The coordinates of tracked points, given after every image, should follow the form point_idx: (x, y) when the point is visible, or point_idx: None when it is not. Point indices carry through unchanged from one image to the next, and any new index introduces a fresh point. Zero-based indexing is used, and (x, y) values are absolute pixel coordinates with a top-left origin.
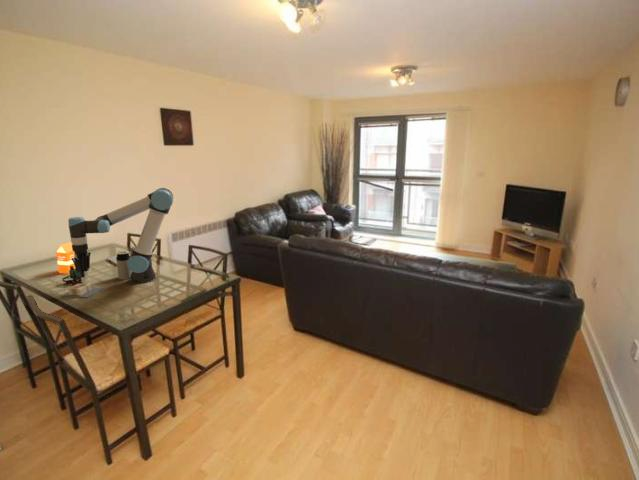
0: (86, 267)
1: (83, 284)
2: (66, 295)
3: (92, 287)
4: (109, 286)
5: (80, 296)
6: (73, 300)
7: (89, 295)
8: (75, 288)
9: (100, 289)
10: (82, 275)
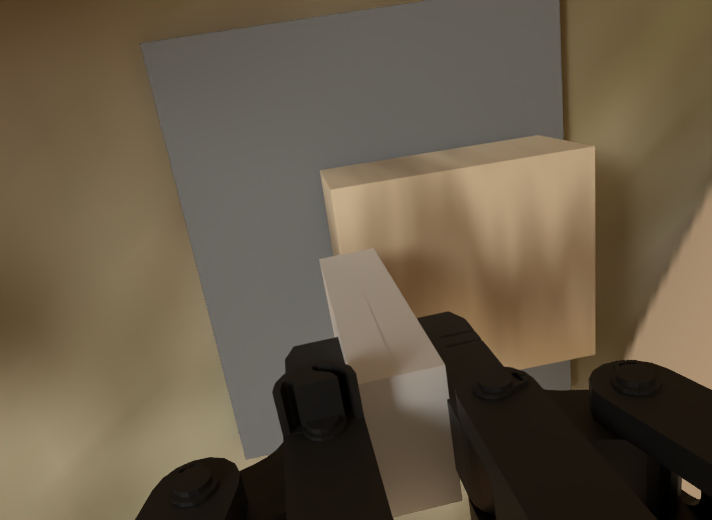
0: (338, 498)
1: None
2: None
3: (200, 255)
4: (9, 45)
5: (557, 121)
6: (654, 128)
7: (499, 14)
8: (567, 261)
9: (225, 50)
10: (478, 346)
